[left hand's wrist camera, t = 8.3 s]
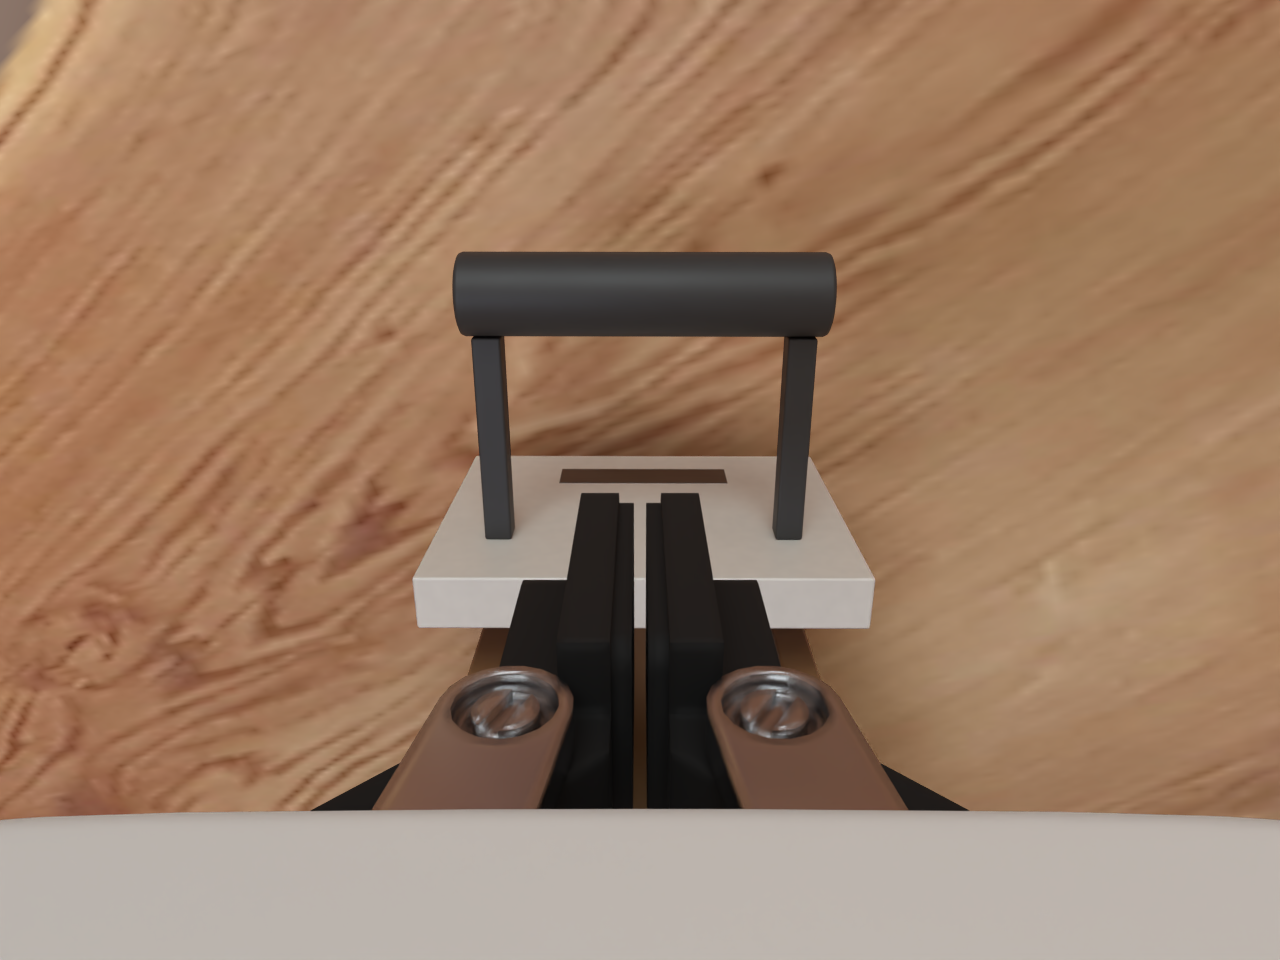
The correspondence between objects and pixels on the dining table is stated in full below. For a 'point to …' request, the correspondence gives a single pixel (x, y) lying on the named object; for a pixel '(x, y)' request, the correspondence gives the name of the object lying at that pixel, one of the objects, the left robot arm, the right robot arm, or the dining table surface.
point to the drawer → (727, 485)
